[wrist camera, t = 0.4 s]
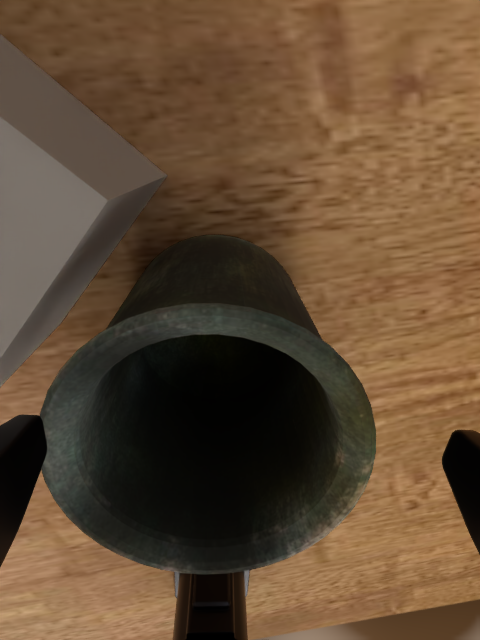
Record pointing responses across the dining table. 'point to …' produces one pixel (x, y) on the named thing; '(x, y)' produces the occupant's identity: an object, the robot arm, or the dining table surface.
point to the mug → (208, 418)
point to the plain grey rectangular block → (56, 202)
